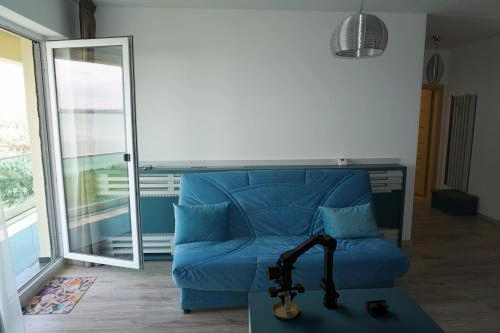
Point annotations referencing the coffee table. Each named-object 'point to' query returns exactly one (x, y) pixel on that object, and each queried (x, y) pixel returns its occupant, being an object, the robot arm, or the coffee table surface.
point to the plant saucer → (285, 314)
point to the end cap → (377, 308)
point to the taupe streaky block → (286, 301)
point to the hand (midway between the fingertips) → (286, 305)
